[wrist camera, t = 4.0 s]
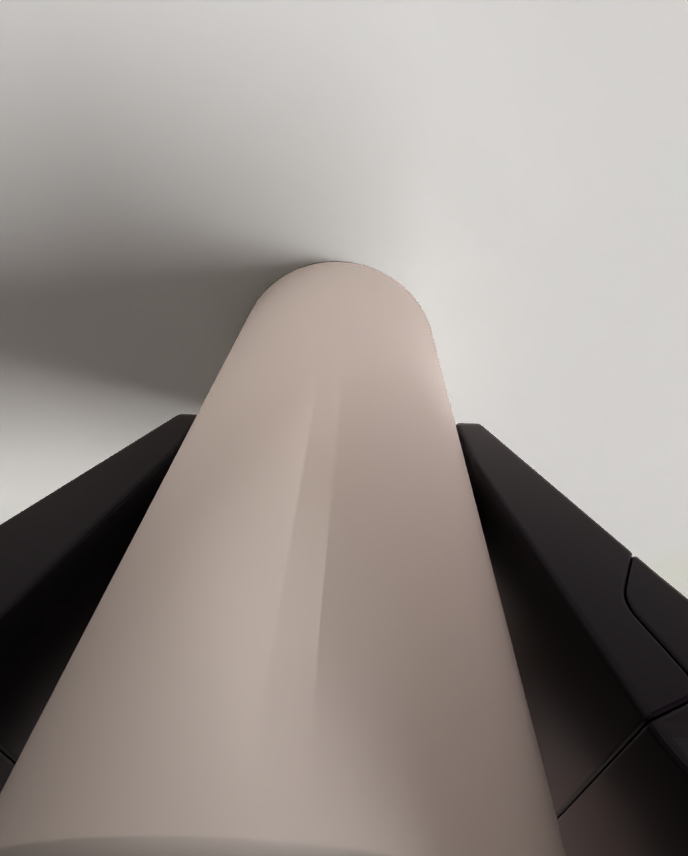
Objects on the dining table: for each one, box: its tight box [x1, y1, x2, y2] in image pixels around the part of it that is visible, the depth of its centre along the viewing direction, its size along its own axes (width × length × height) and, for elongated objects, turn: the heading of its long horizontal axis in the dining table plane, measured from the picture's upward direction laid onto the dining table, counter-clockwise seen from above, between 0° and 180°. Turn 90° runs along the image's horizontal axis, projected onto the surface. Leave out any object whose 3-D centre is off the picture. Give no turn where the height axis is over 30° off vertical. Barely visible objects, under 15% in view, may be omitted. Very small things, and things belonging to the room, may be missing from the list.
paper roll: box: [0, 262, 566, 856], centre depth 7 cm, size 4×4×9 cm
